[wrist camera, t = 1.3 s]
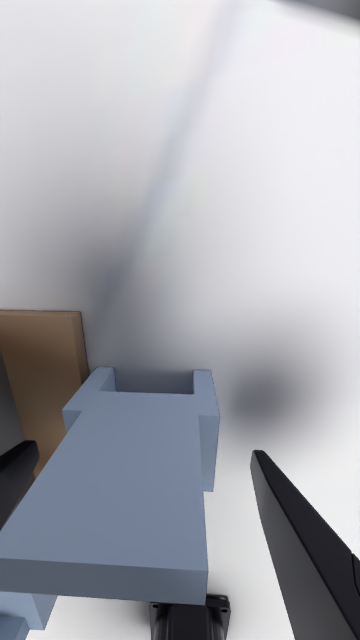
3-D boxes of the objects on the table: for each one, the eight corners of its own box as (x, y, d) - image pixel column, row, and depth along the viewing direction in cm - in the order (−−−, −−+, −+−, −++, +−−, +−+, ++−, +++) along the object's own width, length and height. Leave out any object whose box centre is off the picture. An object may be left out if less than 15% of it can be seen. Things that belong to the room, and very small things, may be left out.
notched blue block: (206, 431, 12) (231, 668, 5) (104, 427, 12) (-5, 650, 5) (210, 370, 11) (250, 574, 4) (97, 366, 11) (-57, 554, 4)
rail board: (111, 544, 15) (94, 611, 13) (-6, 538, 16) (-49, 601, 13) (80, 311, 10) (36, 334, 7) (-98, 307, 10) (-208, 327, 7)
